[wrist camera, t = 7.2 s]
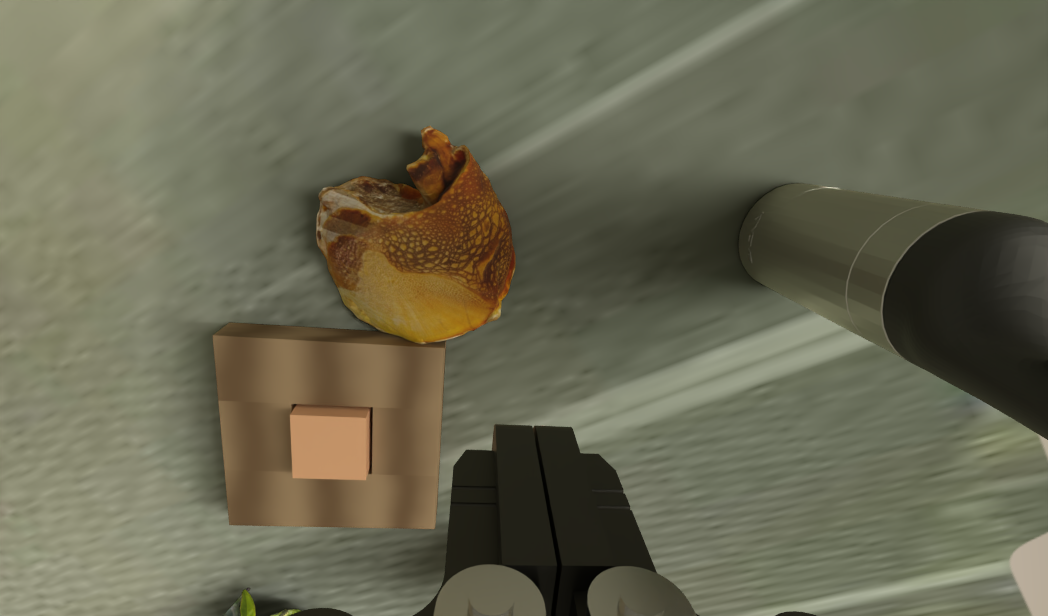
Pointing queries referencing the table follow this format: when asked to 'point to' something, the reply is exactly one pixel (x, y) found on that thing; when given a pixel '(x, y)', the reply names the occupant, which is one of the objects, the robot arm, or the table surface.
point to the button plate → (338, 380)
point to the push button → (331, 441)
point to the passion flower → (251, 607)
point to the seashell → (420, 246)
